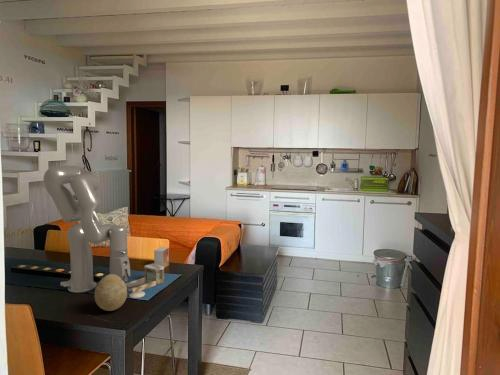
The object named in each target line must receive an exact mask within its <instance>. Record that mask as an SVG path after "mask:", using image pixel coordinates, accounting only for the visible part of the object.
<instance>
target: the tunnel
mask: <svg viewBox="0 0 500 375" xmlns="http://www.w3.org/2000/svg"><path fill="white" fill-rule="evenodd" d="M143 267H144V276H143V277H142V278H138V279H134V280H132V281H130V282H126V283H125V285H126V284H131V283H135V282H140V281H144V280H147V272H148V270H150V272H151V271H155V281H153V282H150V283H147V284H144V285H141V286H138V287H136V288H133V289H132V290H131V292H135V291H144V290H147V289H149V288H153V287H154V286H158V285H161V284H163V283H165V268H164V267H163V266H159V265H156V264H154V262H152V263H149V264H146V265H144V266H143ZM158 271H159V272H161V279H158ZM160 283H161V284H160ZM157 284H158V285H157Z"/></svg>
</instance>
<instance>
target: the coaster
mask: <svg viewBox="0 0 500 375" xmlns="http://www.w3.org/2000/svg"><path fill="white" fill-rule="evenodd" d="M145 296H146V292H145V291H144V290H141V291H135V292H132V291H131V292H129V294H128V297H129V298H130V299H139V298H144V297H145Z"/></svg>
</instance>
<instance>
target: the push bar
mask: <svg viewBox="0 0 500 375" xmlns="http://www.w3.org/2000/svg"><path fill="white" fill-rule="evenodd" d="M150 282H153V281H151V280H150V279H149V280H144V281H140V282H135V283H131V284H126V283H125V284H126V287H127V292H128V291H132V289H133V288H136V287H138V286H141V285H144V284H147V283H150Z"/></svg>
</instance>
